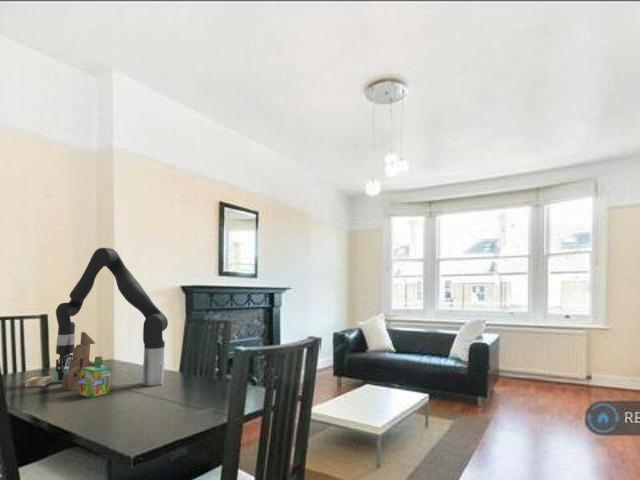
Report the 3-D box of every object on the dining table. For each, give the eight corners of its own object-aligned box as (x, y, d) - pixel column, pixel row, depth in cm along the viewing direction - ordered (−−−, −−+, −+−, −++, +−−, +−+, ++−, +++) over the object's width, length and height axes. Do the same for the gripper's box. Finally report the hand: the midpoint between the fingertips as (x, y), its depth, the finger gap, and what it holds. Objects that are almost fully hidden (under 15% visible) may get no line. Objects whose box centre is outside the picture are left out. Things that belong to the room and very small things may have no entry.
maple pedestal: (51, 382, 199) (52, 376, 199) (44, 386, 191) (45, 380, 191) (33, 383, 197) (33, 377, 197) (25, 387, 189) (25, 381, 189)
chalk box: (77, 395, 177) (80, 360, 178) (98, 390, 185) (100, 357, 186) (90, 398, 172) (93, 362, 174) (110, 393, 180) (113, 359, 182)
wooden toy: (70, 391, 183) (75, 334, 185) (61, 389, 186) (65, 333, 188) (102, 383, 197) (105, 330, 199) (93, 382, 200) (96, 330, 202)
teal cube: (72, 378, 202) (73, 365, 203) (67, 381, 196) (68, 368, 197) (58, 378, 201) (59, 366, 202) (53, 381, 195) (54, 369, 196)
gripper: (68, 345, 194) (65, 381, 193) (79, 341, 208) (77, 375, 207) (50, 346, 193) (48, 382, 191) (63, 341, 207) (60, 375, 205)
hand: (63, 378), depth 199 cm, fingers closed on teal cube, 6 cm apart
